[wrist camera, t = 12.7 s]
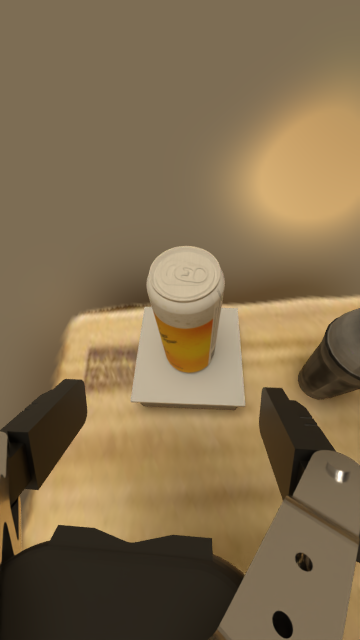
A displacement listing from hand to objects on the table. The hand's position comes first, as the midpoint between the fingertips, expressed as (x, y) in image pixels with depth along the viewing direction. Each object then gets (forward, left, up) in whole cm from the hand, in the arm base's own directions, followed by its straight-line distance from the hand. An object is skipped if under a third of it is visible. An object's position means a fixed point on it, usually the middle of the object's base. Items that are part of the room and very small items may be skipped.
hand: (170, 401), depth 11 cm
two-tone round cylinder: (0, -10, -18) cm, 20 cm away
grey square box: (0, -10, -23) cm, 25 cm away
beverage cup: (-17, -8, -23) cm, 30 cm away
